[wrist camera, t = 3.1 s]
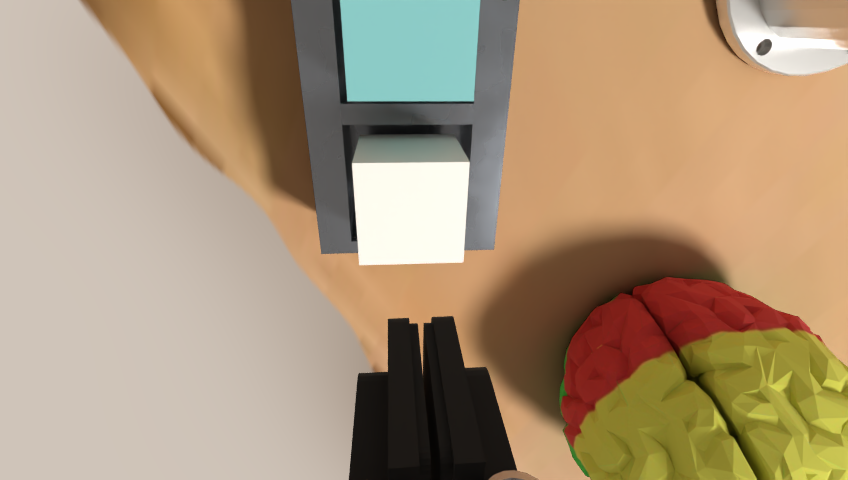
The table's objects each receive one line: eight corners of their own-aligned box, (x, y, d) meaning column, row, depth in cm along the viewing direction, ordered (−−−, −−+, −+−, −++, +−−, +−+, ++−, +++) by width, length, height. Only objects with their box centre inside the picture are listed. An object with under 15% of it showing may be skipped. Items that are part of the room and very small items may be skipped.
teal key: (461, -34, 19) (483, -51, 14) (456, 84, 21) (473, 100, 16) (349, -36, 18) (336, -55, 14) (356, 84, 21) (347, 101, 16)
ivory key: (454, 134, 22) (469, 161, 18) (450, 219, 24) (463, 262, 20) (359, 134, 22) (351, 163, 17) (365, 220, 24) (359, 265, 20)
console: (518, -275, 18) (557, -364, 14) (479, 216, 28) (493, 249, 24) (279, -290, 17) (244, -388, 13) (331, 219, 28) (321, 253, 24)
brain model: (779, 414, 40) (971, 601, 27) (593, 482, 43) (681, 680, 30) (739, 217, 31) (1002, 351, 17) (506, 321, 34) (575, 503, 20)
